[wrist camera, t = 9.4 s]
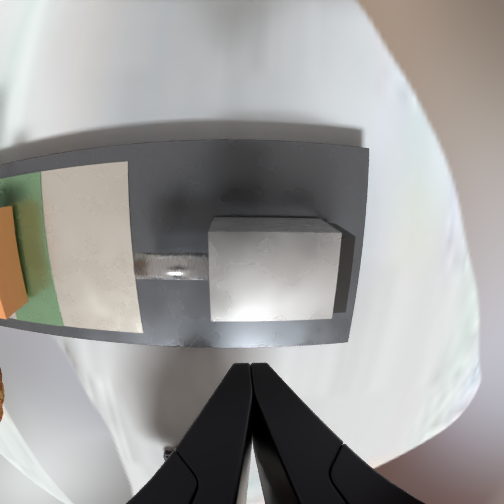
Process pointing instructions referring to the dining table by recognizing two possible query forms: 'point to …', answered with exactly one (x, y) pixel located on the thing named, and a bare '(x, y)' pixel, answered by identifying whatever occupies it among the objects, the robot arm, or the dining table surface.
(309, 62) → the dining table surface
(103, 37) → the dining table surface
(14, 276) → the bar
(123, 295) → the gauge board
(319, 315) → the threaded rod block
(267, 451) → the robot arm
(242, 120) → the dining table surface
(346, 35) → the dining table surface
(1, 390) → the croissant
